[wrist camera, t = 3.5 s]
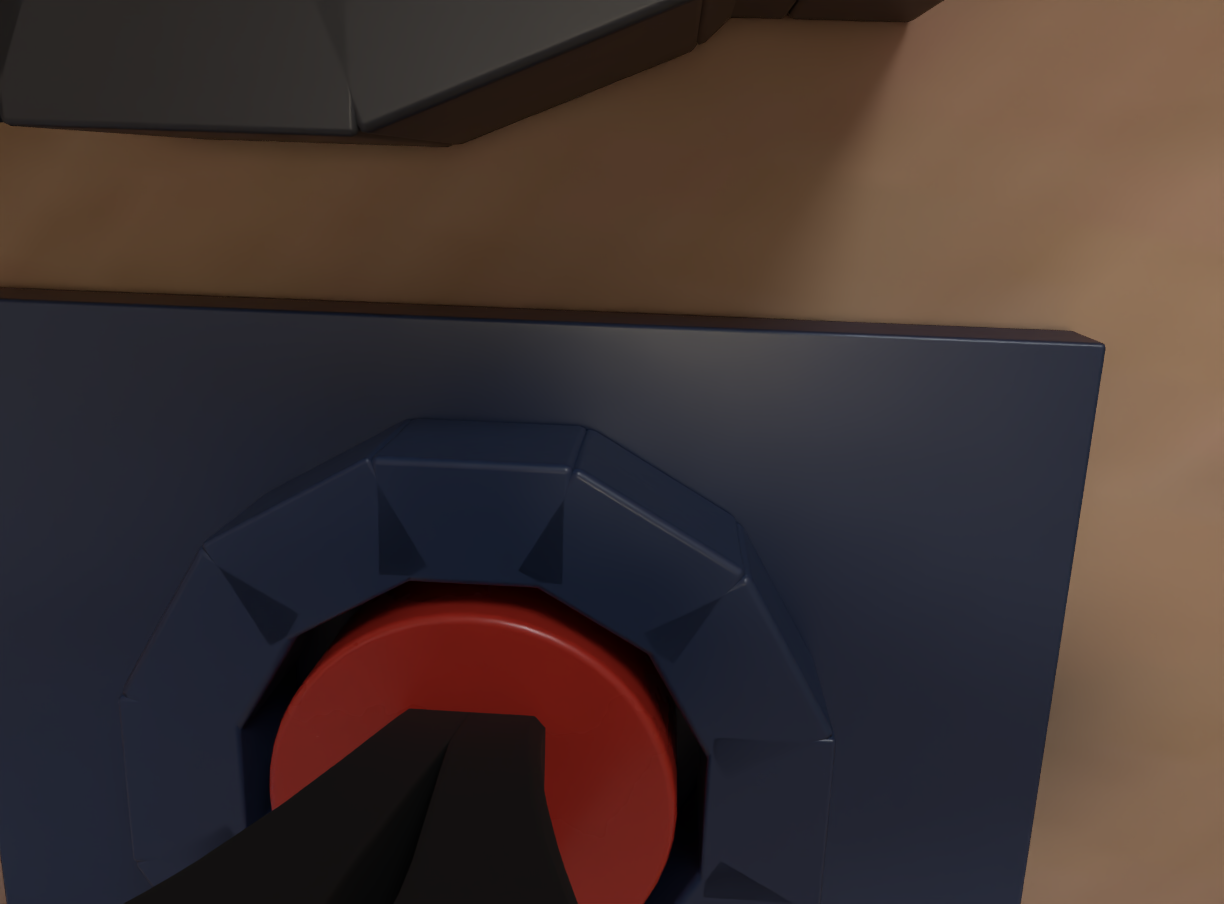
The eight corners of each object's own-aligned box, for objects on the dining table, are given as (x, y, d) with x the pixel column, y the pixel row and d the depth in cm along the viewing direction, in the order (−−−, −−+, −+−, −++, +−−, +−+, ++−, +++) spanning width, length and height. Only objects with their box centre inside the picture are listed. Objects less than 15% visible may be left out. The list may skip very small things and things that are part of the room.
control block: (59, 966, 14) (-67, 1128, 12) (-21, 287, 12) (-199, 315, 9) (973, 1031, 14) (1037, 1217, 11) (1074, 330, 11) (1183, 372, 9)
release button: (324, 872, 12) (276, 966, 11) (311, 546, 11) (254, 603, 10) (668, 894, 12) (667, 996, 11) (686, 565, 11) (688, 627, 10)
